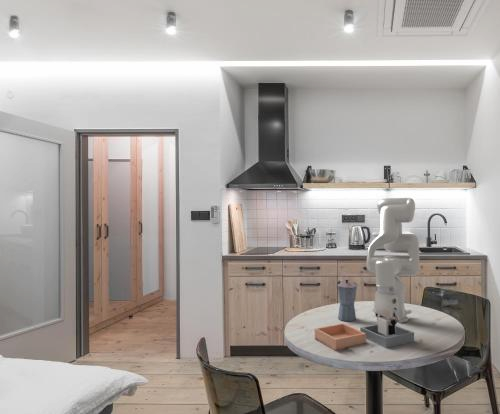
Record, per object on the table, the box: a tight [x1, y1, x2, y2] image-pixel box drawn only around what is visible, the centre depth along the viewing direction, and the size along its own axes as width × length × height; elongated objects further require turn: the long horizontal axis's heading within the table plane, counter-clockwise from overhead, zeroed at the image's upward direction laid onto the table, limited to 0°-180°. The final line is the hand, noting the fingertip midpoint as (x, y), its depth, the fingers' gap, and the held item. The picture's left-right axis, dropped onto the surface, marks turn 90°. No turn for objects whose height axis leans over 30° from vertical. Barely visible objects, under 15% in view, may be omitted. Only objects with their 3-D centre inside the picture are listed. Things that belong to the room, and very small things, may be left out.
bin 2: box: [359, 323, 415, 349], centre depth 155 cm, size 15×15×4 cm
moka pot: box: [336, 279, 358, 323], centre depth 186 cm, size 10×15×20 cm, turn 24°
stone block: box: [377, 317, 397, 336], centre depth 155 cm, size 5×5×6 cm
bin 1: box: [314, 322, 367, 352], centre depth 155 cm, size 15×15×4 cm
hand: (386, 331), depth 155 cm, fingers closed on stone block, 5 cm apart
